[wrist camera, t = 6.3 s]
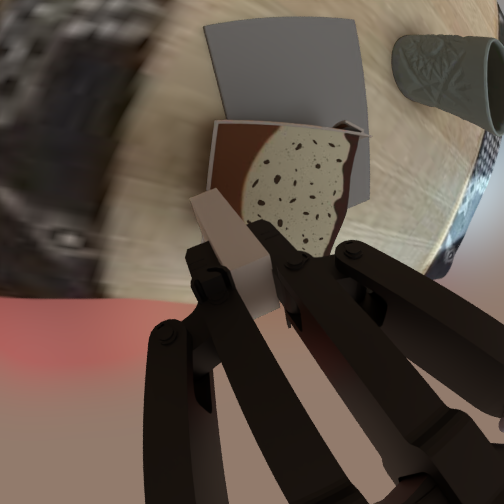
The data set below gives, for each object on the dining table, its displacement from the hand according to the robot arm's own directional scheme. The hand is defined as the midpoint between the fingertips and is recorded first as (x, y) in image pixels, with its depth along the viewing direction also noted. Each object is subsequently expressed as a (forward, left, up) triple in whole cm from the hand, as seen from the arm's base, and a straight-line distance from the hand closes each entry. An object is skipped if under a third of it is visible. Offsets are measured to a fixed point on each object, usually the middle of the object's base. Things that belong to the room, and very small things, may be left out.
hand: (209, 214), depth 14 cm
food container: (+1, 0, -6) cm, 6 cm away
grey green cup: (+27, +6, -8) cm, 29 cm away
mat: (+11, +1, -8) cm, 14 cm away
